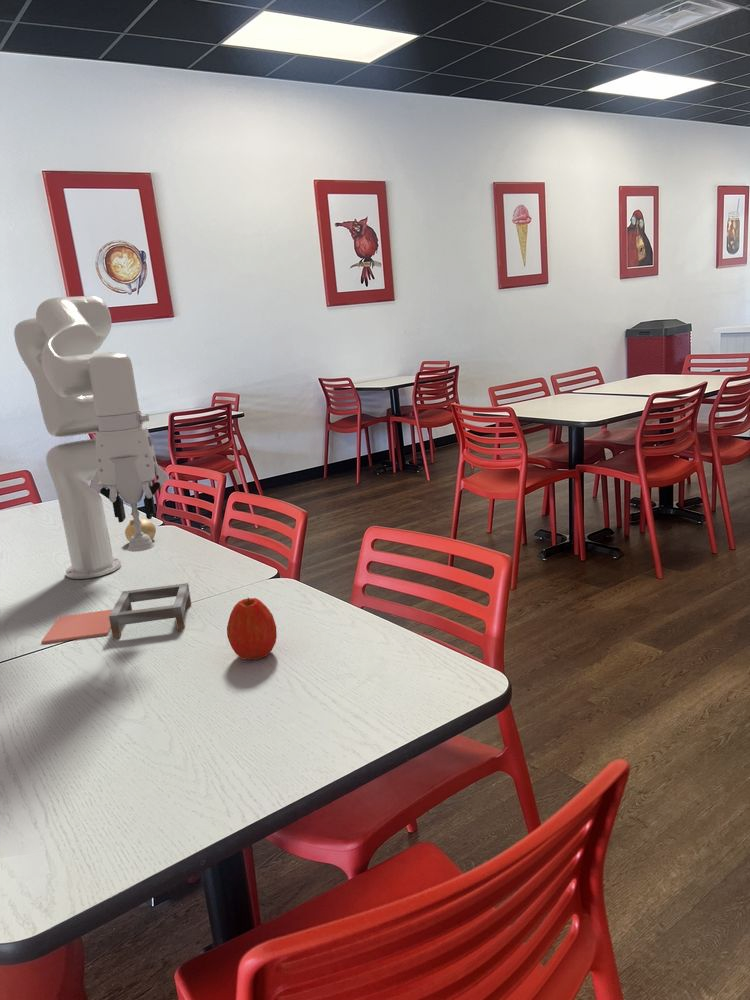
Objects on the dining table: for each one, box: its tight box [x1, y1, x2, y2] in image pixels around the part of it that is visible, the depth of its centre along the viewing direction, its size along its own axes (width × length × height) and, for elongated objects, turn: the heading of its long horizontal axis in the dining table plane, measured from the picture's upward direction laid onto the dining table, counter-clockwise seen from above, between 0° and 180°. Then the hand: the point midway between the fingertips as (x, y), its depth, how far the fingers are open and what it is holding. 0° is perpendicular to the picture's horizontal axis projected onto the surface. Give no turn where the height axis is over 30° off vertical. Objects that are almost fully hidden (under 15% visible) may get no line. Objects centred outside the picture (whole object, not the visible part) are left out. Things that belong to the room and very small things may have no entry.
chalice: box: [109, 456, 156, 553], centre depth 133 cm, size 7×7×18 cm
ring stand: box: [109, 582, 192, 640], centre depth 139 cm, size 13×13×5 cm
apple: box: [226, 597, 277, 660], centre depth 119 cm, size 8×8×11 cm
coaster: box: [40, 608, 113, 645], centre depth 139 cm, size 12×12×1 cm
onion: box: [124, 517, 157, 543], centre depth 194 cm, size 8×8×7 cm
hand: (136, 517), depth 134 cm, fingers closed on chalice, 4 cm apart
